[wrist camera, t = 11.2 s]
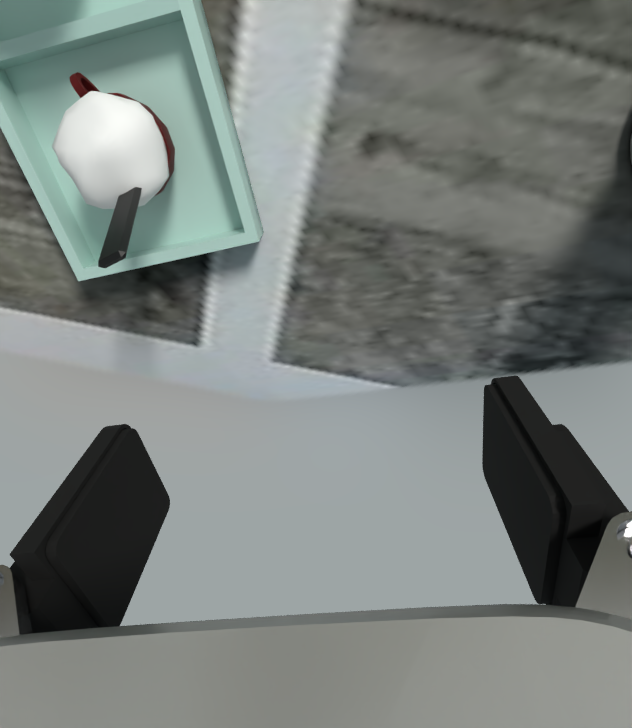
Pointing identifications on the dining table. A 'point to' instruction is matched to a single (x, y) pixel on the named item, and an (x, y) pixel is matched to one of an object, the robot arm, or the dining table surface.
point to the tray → (144, 84)
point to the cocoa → (114, 158)
